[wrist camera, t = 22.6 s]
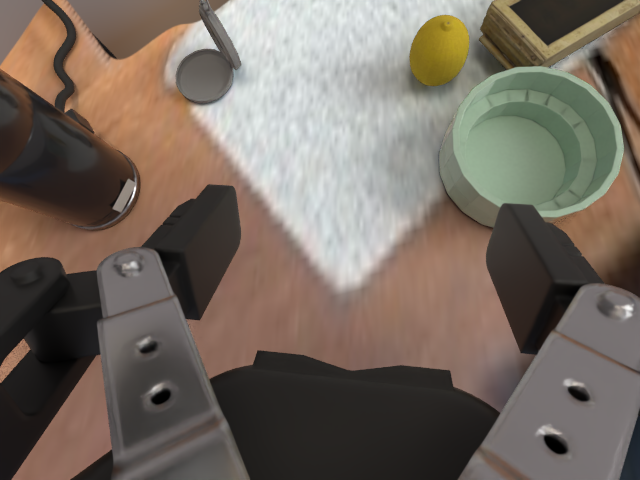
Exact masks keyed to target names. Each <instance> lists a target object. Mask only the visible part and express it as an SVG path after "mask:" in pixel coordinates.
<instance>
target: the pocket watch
mask: <svg viewBox="0 0 640 480" xmlns="http://www.w3.org/2000/svg"><path fill="white" fill-rule="evenodd" d="M199 13H200V16H201V18H202V20H203V22H204V24H205V26H206V28H207V30H208V32H209V33H210V35H211V37H212V39H213V40H214V42H215V44H216V46H217V47H218V49H219V50H220V52H219V51H216V50H213V49H202V50H198V51H195V52H193V53H191V54H189V55H188V56H186V57H185V58H184V59H183V60H182V62H181V63H180V65H179V66H178V68H177V72H176V84H177V87H178V89H179V91H180V92H181V93H182V94H183V95H184V96H185V98H187V99H189V100H190V101H193V102H197V103H208V102H212V101H215V100H217V99H219V98H220V97H222V96H223V95H224V94H225V93H226V92H227V91H228V89H229V88H230V86H231V84H232V81H233V68H234V69H235V70H237V69H238V68H239V67H240V66H241V61H240V58H239V56H238V53H237V51H236V49H235V47H234V45H233V43H232V41H231V39H230V38H229V36H228V34H227V32H226V31H225V29H224V27H223V25H222V24H221V22H220V20H219V19H218V17H217V16H216V14H215V13H214V11H213V10H212V9H211V7H210V5H209V1H208V0H206V2H205V1H204V0H200V5H199Z"/></svg>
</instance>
